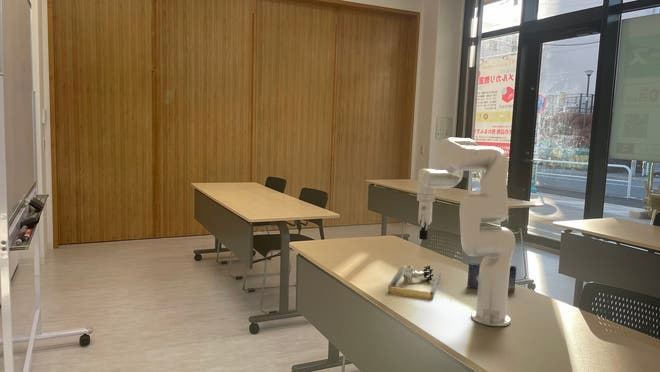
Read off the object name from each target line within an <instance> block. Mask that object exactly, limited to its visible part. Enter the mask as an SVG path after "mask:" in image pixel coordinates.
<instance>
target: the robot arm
mask: <svg viewBox="0 0 660 372" xmlns="http://www.w3.org/2000/svg"><path fill="white" fill-rule="evenodd" d="M437 155H438V157H439V159H441V166H442V169H433V168H421V169H419V171H418V177H417V193H416V194H417V195H416V201H417V202H419V203H418V204H419V205H418V216H417V217H418V218H417V220H418V224H419V226H420V227H419V235H418V236H419V237H418V238H419V240H423V241H424V240H425V241H426V240H428V232H429V229H428V226H429V225H431V224H432V221H433V203H434V202H436V189H452V188H454V187H456V186H457V185H459V183H460V182H461V181H462V179H463V177H464V171H470V172H471V171H472V172H473V171H474V172H475V171H476V172H477V171H478V172H479V171H481V172H482V171H483V172H484V173H483V174H482V176H481V178H480V181H479V188H480V192H479V193H469V194H467V195H465V196H464V197H463V198H462V199H461V201H460V205H459V228H460V229H459V231H460V242H461V243H460V244H461V248H462V251H463V253H464V254H465V255H467V256H469V257H483V259H482V260H481V263H480V264H481V265H480V269H479V282H478V289H477V295H476V296H477V298H476V309H475V310H473V311H472V312H471V315H470V317H471V319H472V320H474V321H475V322H477V323H479V324H482V325H485V326H491V327H505V326H509V325H510V324H511V317H510V316H509V315H508V314H507V306H508V297H509V296H508V295H509V293H508V292H509V291H508V284H509V273H510V266H511V263H512V258H513V254H514V251H515V248H516V236H515V233H513V231H512V230H510V229H509V228H507V227H504V226H481V224H485V223H488V224H492V223H494V224H495V223H502V222H504V221H505V220H506V219H507V218H508V215H509V202H508V201H509V198H508V197H509V196H508V186H507V185H508V183H507V182H508V181H507V180H508V179H507V178H508V177H507V176H508V170H509V158H508V155H507V153H506V152H505V151H504V150H503V149H502V148H499V147H497V146H489V145H488V146H486V145H485V146H484V145H479V144H478V143H477V142H476V141H475V140H474V139H471V138H468V137H466V138H465V137H464V138H463V137H447V138H444V139H443V140H441V142H440V143H439V145H438V148H437Z"/></svg>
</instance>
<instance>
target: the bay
mask: <svg viewBox="0 0 660 372" xmlns="http://www.w3.org/2000/svg"><path fill="white" fill-rule="evenodd" d="M403 273H404V267H403V266H402V267H400V268H399V269H398V271H397V272H396V274H395V275H394V277H393V278H392V280H391V281H390V282H389V284H388V285H387V294H391V295H396V296H397V295H398V296H404V297H411V298H418V299H427V300H433V299H434V297H435V295H436V291H437V289H438V286H439V283H440V280H441V273H442V272H441V271H438V272H437V274H436V276H435V279H434V282H433V285H432V287H431V289H430V291H425V290H419V289H413V288H412V289H410V288H404V287H397V284H398V282H399V281H400V279H401V278H402V276H403ZM433 301H434V300H433Z"/></svg>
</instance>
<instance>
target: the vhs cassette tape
mask: <svg viewBox="0 0 660 372" xmlns="http://www.w3.org/2000/svg"><path fill="white" fill-rule="evenodd" d="M480 265H481V263H475V262H474V263H473V262H468V272H467V282H466V283H467V284H466V285H467V288H468V289H471V290H478V282H479V269H480ZM516 275H517V267H516V266H515V265H510V273H509V284H508V292H515V289H516V277H517V276H516Z"/></svg>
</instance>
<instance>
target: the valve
mask: <svg viewBox="0 0 660 372" xmlns="http://www.w3.org/2000/svg"><path fill="white" fill-rule="evenodd" d="M413 268H414V267H413V266H412V265H405V266H404V270H403V275H402V276H403V283H404V284H407V285H408V284H412V283H413V279H416V278H418V277H422V276H423V278H424V279H425V280H426V281H427V282H429V281H432V280H433V278H432V277H434V274H433V268H431V266H430V265H425V266H424V269H423V271H417V270H414V269H413Z"/></svg>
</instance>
